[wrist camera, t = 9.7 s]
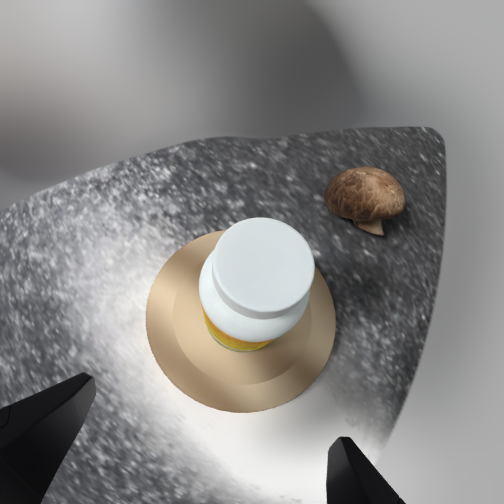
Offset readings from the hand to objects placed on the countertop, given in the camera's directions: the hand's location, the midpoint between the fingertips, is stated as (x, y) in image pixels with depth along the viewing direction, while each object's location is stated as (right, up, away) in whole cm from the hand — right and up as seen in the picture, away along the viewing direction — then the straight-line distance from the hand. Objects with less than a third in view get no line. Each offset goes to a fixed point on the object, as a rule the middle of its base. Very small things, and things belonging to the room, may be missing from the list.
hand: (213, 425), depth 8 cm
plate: (+1, +1, +12) cm, 12 cm away
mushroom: (+11, +10, +19) cm, 24 cm away
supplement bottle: (+1, +1, +11) cm, 11 cm away
